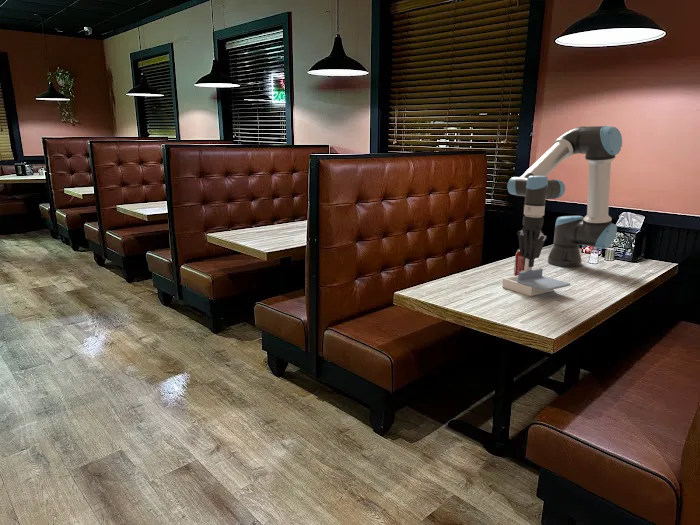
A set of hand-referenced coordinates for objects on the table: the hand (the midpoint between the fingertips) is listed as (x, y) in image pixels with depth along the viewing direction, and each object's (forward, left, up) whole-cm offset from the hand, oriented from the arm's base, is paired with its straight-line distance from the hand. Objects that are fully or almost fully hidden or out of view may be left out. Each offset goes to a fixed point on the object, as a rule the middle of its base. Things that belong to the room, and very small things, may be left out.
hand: (527, 274), depth 200 cm
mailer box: (0, +1, -6) cm, 6 cm away
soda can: (-12, -12, -6) cm, 18 cm away
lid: (0, +8, -2) cm, 8 cm away
